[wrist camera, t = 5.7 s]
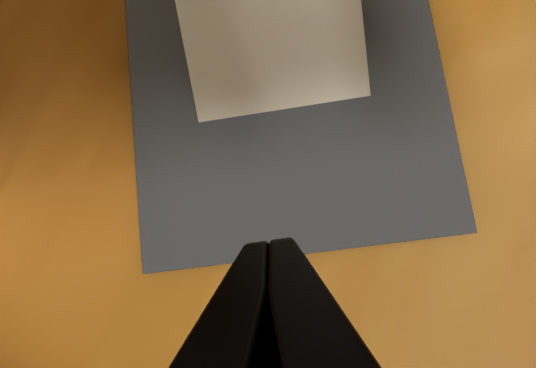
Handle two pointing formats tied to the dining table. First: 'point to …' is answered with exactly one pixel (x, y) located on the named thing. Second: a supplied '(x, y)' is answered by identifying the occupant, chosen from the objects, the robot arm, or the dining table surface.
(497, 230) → the dining table surface
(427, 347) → the dining table surface
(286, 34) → the domino
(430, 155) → the mat
